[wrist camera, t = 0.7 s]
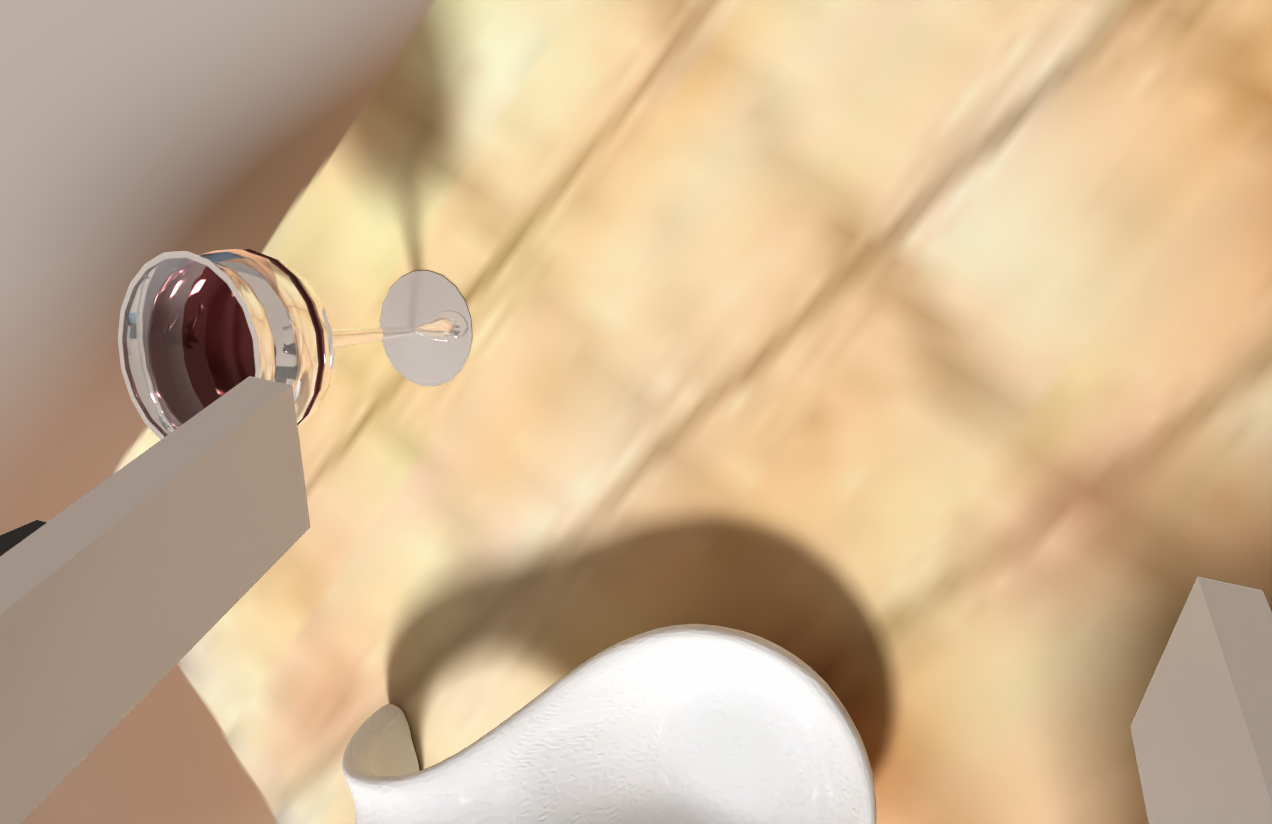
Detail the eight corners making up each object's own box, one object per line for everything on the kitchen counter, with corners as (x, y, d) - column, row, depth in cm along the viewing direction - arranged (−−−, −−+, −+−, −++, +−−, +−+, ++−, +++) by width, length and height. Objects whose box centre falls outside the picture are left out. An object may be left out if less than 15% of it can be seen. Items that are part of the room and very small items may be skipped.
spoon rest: (856, 579, 36) (793, 649, 29) (929, 891, 36) (882, 1027, 30) (373, 633, 47) (253, 692, 41) (433, 870, 47) (323, 966, 41)
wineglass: (347, 362, 45) (100, 397, 34) (390, 223, 43) (140, 213, 32) (459, 435, 42) (232, 495, 32) (511, 291, 40) (284, 305, 30)
